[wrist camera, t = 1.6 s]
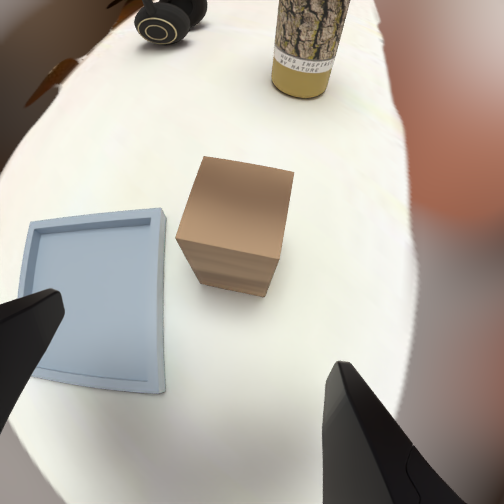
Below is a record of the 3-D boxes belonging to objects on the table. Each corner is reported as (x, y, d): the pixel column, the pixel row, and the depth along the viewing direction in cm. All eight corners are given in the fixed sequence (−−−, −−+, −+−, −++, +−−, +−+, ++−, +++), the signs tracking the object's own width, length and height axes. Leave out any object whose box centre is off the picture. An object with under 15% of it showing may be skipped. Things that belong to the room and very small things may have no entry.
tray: (165, 390, 19) (159, 393, 17) (27, 372, 18) (15, 371, 17) (166, 217, 24) (161, 207, 22) (39, 229, 23) (30, 221, 21)
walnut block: (264, 297, 22) (279, 259, 13) (200, 283, 22) (175, 237, 14) (276, 237, 23) (294, 172, 15) (215, 225, 24) (203, 156, 15)
